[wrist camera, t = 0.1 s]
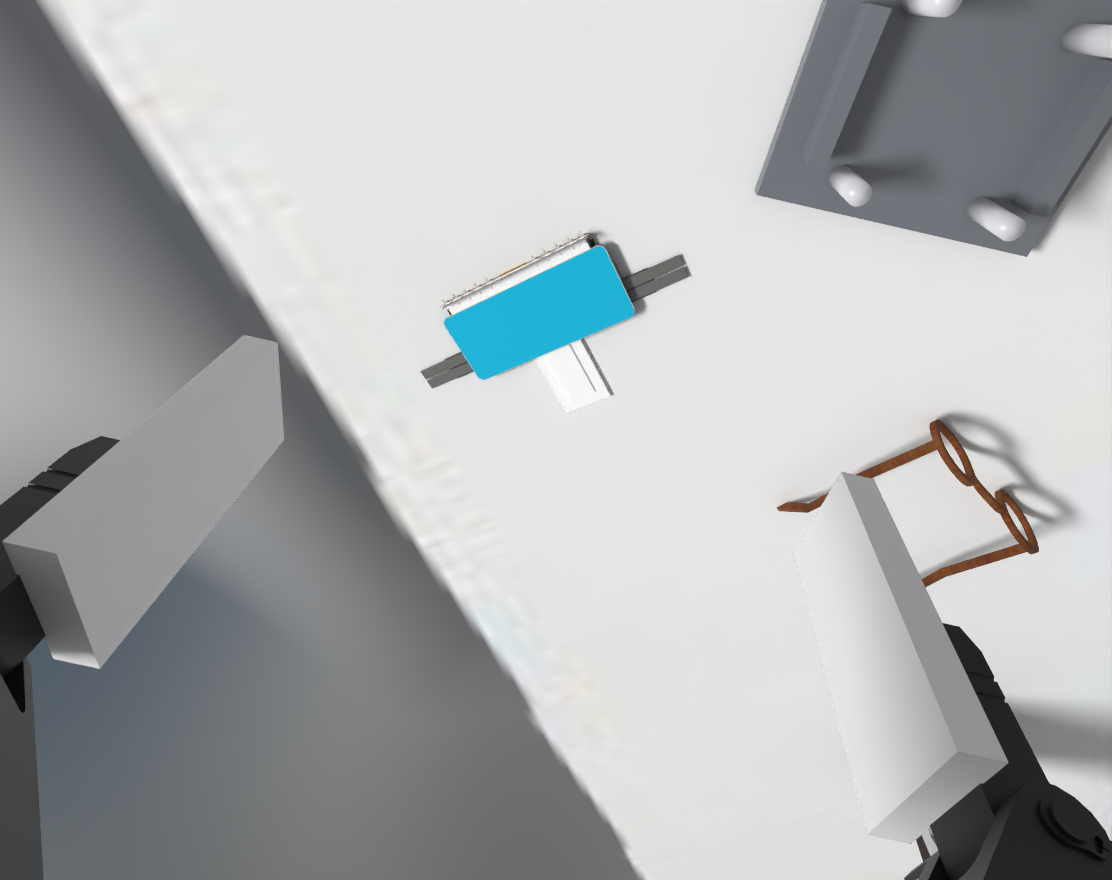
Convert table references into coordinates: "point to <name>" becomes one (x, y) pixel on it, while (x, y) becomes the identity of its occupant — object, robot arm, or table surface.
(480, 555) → the table surface
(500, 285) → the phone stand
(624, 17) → the table surface
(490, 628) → the table surface
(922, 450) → the glasses
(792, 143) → the cradle
